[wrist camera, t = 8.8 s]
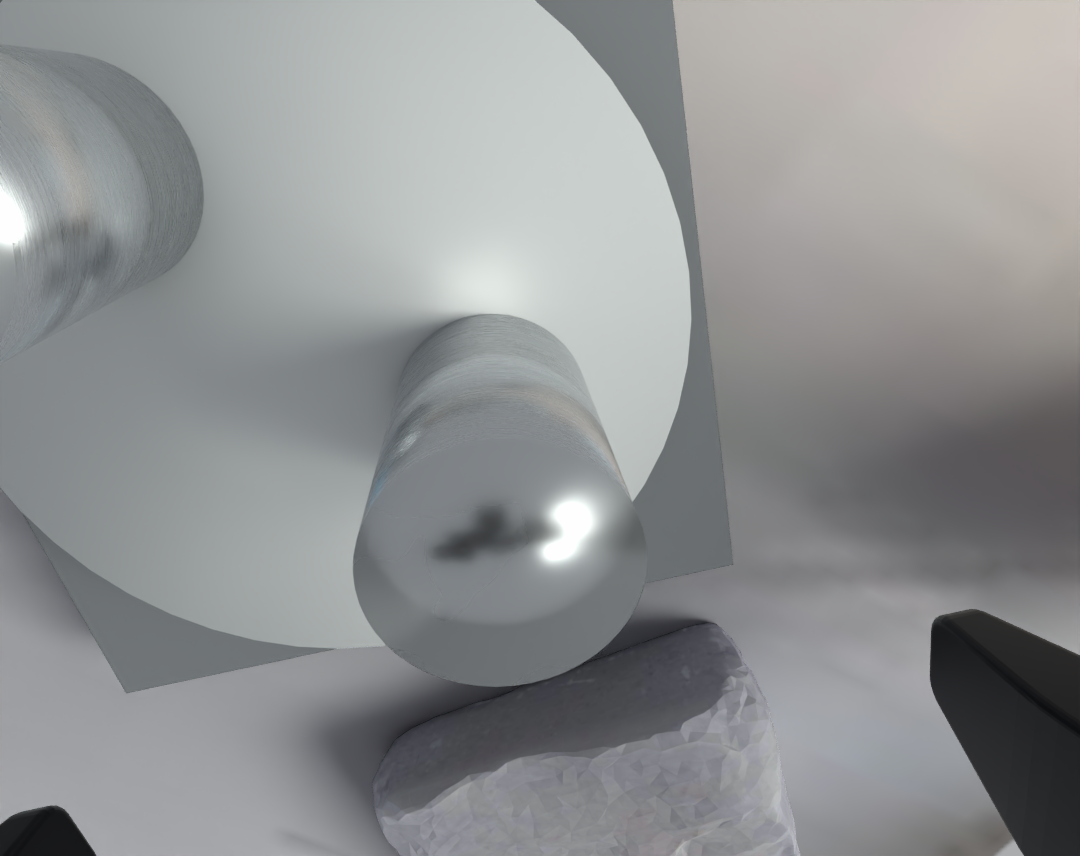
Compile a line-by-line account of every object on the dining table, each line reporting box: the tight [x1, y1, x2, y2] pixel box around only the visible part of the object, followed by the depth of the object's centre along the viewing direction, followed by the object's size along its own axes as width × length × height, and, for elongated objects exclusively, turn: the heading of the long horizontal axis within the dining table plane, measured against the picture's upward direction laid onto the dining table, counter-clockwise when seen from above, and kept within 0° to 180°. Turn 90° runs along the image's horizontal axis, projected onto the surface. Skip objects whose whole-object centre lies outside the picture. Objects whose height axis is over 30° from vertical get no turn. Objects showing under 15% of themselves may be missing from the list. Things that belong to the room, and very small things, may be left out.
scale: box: [0, 0, 733, 693], centre depth 16 cm, size 16×17×3 cm
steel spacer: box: [353, 314, 647, 687], centre depth 13 cm, size 4×4×6 cm
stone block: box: [372, 623, 800, 856], centre depth 23 cm, size 12×5×10 cm
